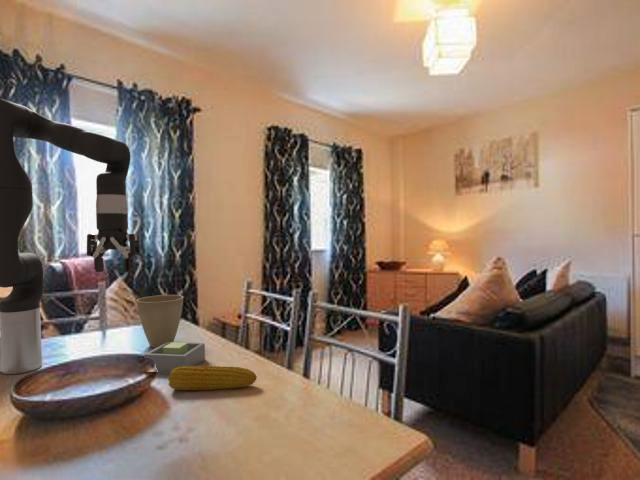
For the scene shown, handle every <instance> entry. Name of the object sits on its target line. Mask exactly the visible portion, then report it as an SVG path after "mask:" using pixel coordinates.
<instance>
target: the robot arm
mask: <svg viewBox="0 0 640 480" xmlns="http://www.w3.org/2000/svg"><path fill="white" fill-rule="evenodd" d="M14 138H18V139H31V140H38V141H43V142H46V143H49V144H51V145H53V146H54V147H57V148H59V149H61V150H64V151H67V152H70V153H73V154H76V155H80V156H82V157H83V156H84V157H86V158H87V159H90V160H93V161H95V162H98V163H102V164H105V165H106V168H105V172H102V173H99V174H97V176H96V183H95V184H96V199H95V211H96V212H95V215H96V219H95V220H96V229H97V233H88V234H87V235H86V255H87V256H88V257H89V256H90V257H92V259H93V262H94V263H93V264H94V265H93V268H94V271H95V272H96V273H101V272H104V267H105V266H104V258H103V256H104V255H105V254H106V252H108V251H109V250H113V251H115V250H116V251H118V252H119V253H120V254H122V255H123V257H124V258H123V267H124V268H123V272H124V273H132V270H134V257H136V256H140V254H141V250H140V249H141V248H140V239H139V237H140V236H139V234H138V233H135V232H134V233H128V228H129V217H128V216H129V215H128V201H127V189H126V188H127V187H126V186H127V185H126V180H127V177H128V173H129V168H130V164H131V151H130V148H129V146H128V145H127V144H126V143H125V142H124V141H122V140H120V139H116V138H112V137H110V136H107V135H103V134H99V133H95V132H92V131H89V130H88V129H84V128H82V127H78V126H76V125H75V126H74V125H72V124H67V123H64V122H59V121H54V120H51V119H49V118H47V117H46V116H43V115H41V114H39V113H38V112H36V111H34V110H32V109H30V108H28V107H27V106H24V105H21V104H19V103H16V102H13V101H10V100H6V99H2V98H0V288H3V289H5V288H6V289H7V288H12V289H11V291H10V293H9V294H8V295H7V296H6V297H4V298H2V299H1V300H0V372H1V373H2V374H4V375H18V374H25V373H28V372H32V371H35V370H37V369H39V368H41V367H42V366H43V354H42V351H43V350H42V349H43V348H42V330H41V329H42V327H41V326H42V324H41V323H42V322H41V307H40V306H41V300H42V297H43V294H44V266H43V262H42V260H41V258H40V257H39V255H37V254H35V253H32V252H20V251H19V239H20V234H21V232H22V229H23V228H24V226H25V224H26V222H27V220H28V218H29V217H30V215H31V213H32V210H33V204H34V203H33V202H34V198H33V196H34V195H33V185H32V184H33V183H32V180H31V179H30V176H29V174H28V173H27V171H26V170H25V168H24V166H23V165H22V163H21V161H20V160H19V158H18V155H17V153H16V149H15V142H14Z"/></svg>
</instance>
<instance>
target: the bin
mask: <svg viewBox="0 0 640 480" xmlns="http://www.w3.org/2000/svg"><path fill="white" fill-rule="evenodd" d="M177 342H178V343H188V352H187V353H185V354H184V355H176V354H163V347H164V346H166V345H168V344H170V343H172V342H166V343H165V344H163V345H161V346H159V347H154V349H152V350H150V351H148V352H146V353H144V355H143V356H144V357H143V358H150V359H152V360H153V361H154V362H155V364H156V368H157V370H158V373H157V374H169V375H170V373H171V371H172V370H173V369H175V368H177V367H181V366H199V365H200V364H201V363H202V362H203V360H204V359H205V360H206V349H205V348H206V347H205V346H206V345H205V342H187V341H186V342H185V341H177ZM205 360H204V361H205ZM200 362H201V363H200ZM199 363H200V364H199Z"/></svg>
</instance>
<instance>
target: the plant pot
mask: <svg viewBox="0 0 640 480" xmlns="http://www.w3.org/2000/svg"><path fill="white" fill-rule="evenodd" d="M136 304H137V305H136V306H137V311H138V316H139V320H140V322H141V323H140V324H141V326H142V329H143V331H144V335H145V338H146V340H147V342H148V344H149V346H150V347H152V348H157V347H159V346H161V345H163V344H165V343H166V342H175V338H176V336H177V332H178V329H179V326H180V323H181V318H182V317H181V316H182V312H183V305H184V296H183V295H180V294H179V295H178V294H159V295H158V294H157V295H151V296H145V297H141V298H137V299H136Z"/></svg>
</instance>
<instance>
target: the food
mask: <svg viewBox="0 0 640 480" xmlns="http://www.w3.org/2000/svg"><path fill="white" fill-rule="evenodd" d="M257 378H258V376H257V374H256V373H255V372H254V371H253V370H251V369H248V368H245V367H241V366H240V367H239V366H220V365H218V366H217V365H197V366H181V367H177V368H175V369H173V370H172V371H171V373H170V374H169V375H168V386H169V387H170V388H171V389H173V390H178V391H179V390H180V391H203V390H205V391H206V390H207V391H208V390H211V391H213V390H222V389H223V390H224V389H227V390H228V389H229V390H230V389H236V388H237V389H238V388H246V387H248V386H250V385H251V386H253V384H254V383H255V382H256V381H257Z"/></svg>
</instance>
